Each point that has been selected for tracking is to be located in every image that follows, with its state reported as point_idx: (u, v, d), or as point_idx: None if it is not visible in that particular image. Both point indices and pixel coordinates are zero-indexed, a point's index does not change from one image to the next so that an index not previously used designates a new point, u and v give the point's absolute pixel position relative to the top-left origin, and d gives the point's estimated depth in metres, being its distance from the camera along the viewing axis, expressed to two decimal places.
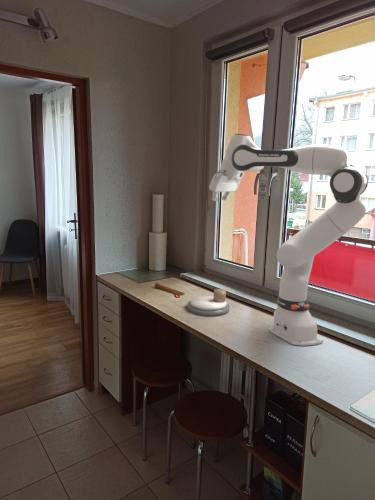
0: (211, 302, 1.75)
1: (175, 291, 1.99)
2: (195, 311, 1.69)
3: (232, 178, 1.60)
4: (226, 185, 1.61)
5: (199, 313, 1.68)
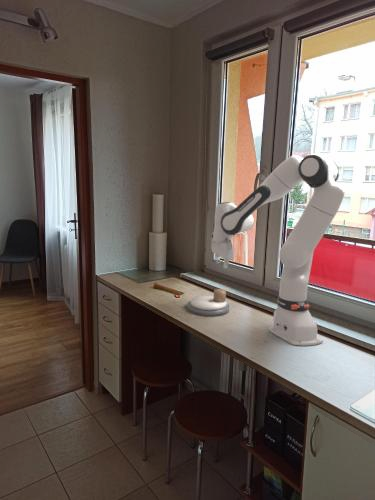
0: (211, 302, 1.75)
1: (175, 291, 1.99)
2: (195, 311, 1.69)
3: None
4: None
5: (199, 313, 1.68)
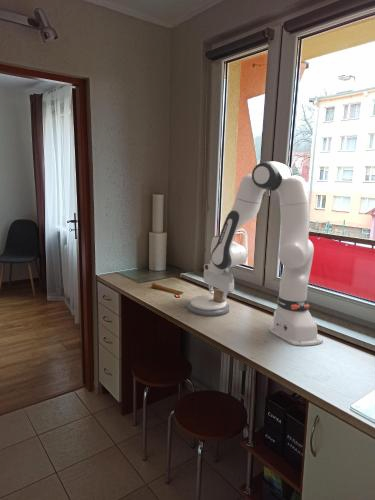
0: (211, 302, 1.75)
1: (174, 290, 2.00)
2: (195, 311, 1.69)
3: None
4: None
5: (199, 313, 1.68)
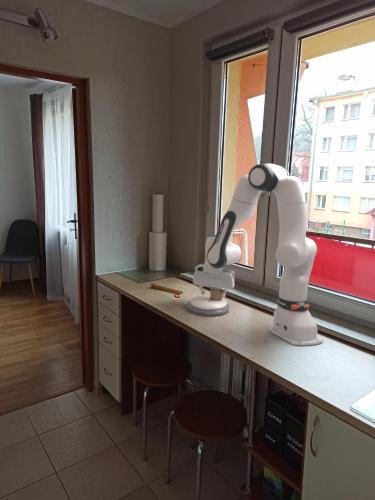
0: (212, 301, 1.75)
1: (173, 290, 2.00)
2: (195, 311, 1.69)
3: None
4: None
5: (199, 313, 1.68)
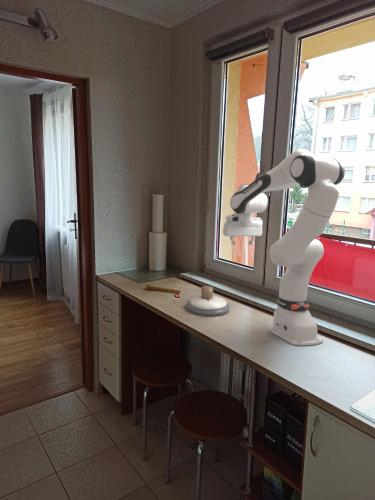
0: (212, 300, 1.77)
1: (171, 290, 2.01)
2: (195, 311, 1.69)
3: None
4: None
5: (199, 313, 1.68)
